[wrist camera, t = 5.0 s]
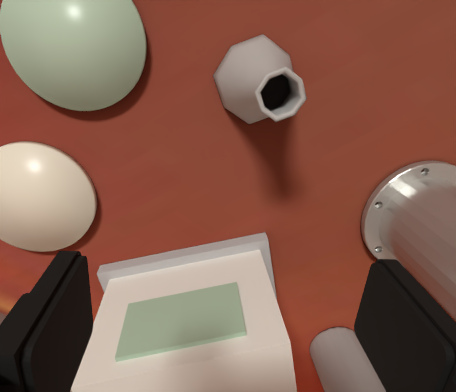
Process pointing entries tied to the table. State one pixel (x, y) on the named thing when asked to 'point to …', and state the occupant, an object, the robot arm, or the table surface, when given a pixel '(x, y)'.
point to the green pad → (75, 49)
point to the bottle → (343, 362)
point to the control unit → (190, 324)
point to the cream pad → (43, 197)
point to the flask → (259, 81)
